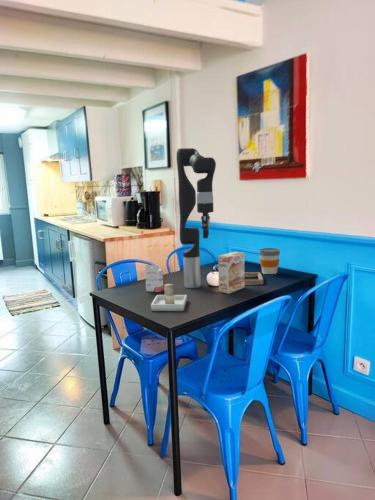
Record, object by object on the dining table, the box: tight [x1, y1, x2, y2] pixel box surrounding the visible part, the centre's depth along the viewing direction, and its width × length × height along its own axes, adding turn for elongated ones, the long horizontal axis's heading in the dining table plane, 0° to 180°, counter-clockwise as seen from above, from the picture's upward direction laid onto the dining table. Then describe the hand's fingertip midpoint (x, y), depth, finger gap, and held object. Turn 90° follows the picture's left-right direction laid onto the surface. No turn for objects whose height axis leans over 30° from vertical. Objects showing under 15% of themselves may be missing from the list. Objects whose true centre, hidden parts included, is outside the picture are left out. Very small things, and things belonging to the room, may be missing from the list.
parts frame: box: [245, 271, 264, 286], centre depth 219 cm, size 19×19×2 cm
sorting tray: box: [150, 294, 188, 312], centre depth 178 cm, size 15×15×3 cm
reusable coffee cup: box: [258, 247, 281, 275], centre depth 233 cm, size 13×13×15 cm
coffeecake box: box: [217, 251, 246, 295], centre depth 200 cm, size 15×7×20 cm, turn 137°
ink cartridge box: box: [144, 264, 164, 293], centre depth 204 cm, size 9×5×15 cm, turn 70°
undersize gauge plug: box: [163, 283, 175, 304], centre depth 178 cm, size 4×4×9 cm
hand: (206, 236), depth 175 cm, fingers open, 8 cm apart
